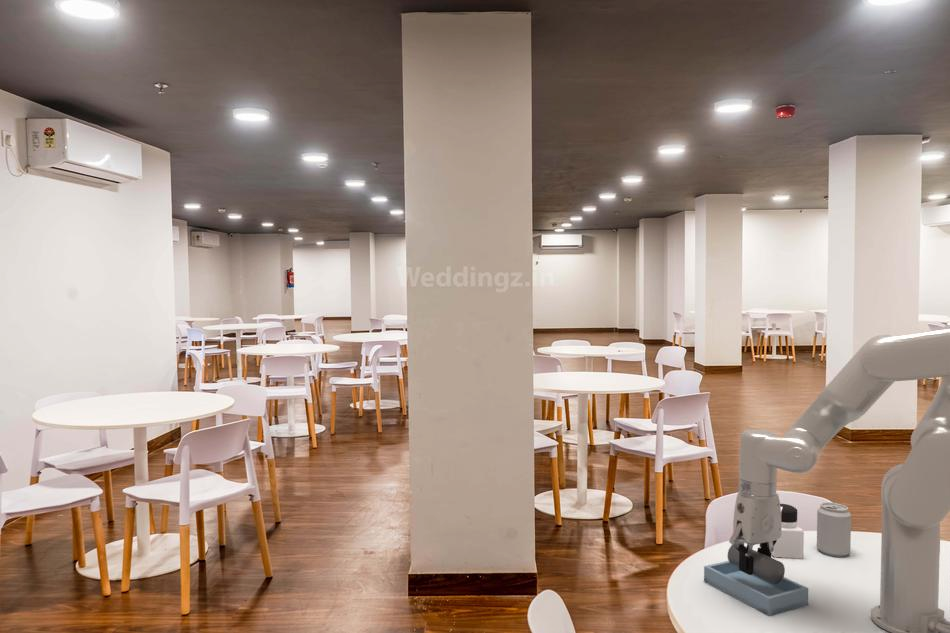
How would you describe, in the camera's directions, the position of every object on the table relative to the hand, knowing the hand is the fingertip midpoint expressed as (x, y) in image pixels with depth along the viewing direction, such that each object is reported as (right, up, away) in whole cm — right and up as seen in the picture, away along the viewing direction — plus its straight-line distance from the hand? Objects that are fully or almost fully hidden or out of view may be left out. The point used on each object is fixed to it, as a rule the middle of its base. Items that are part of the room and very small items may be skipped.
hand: (754, 569), depth 141 cm
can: (+30, -5, +23) cm, 38 cm away
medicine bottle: (+17, -5, +23) cm, 29 cm away
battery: (0, -1, 0) cm, 1 cm away
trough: (0, -5, 0) cm, 5 cm away
